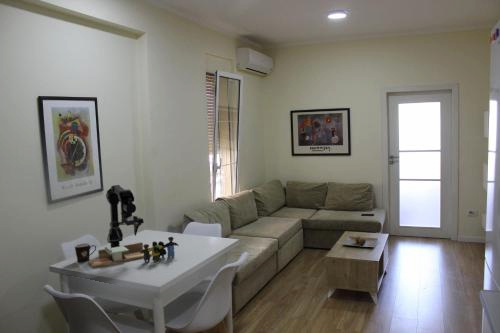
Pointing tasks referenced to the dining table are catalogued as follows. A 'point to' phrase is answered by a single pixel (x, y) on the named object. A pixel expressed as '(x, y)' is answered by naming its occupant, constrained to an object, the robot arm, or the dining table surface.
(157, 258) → the doll family
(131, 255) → the puzzle board
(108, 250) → the sage cover
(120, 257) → the cream block
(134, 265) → the dining table surface
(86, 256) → the coffee mug
